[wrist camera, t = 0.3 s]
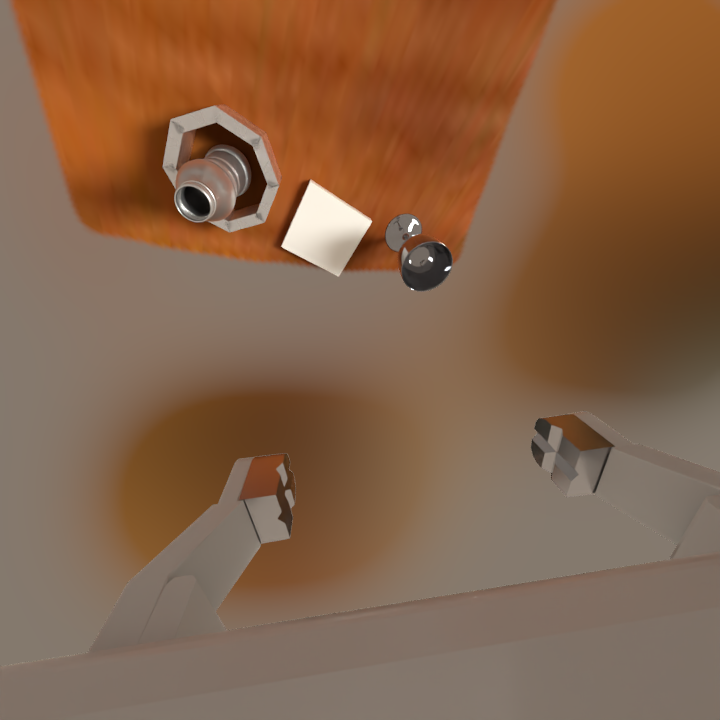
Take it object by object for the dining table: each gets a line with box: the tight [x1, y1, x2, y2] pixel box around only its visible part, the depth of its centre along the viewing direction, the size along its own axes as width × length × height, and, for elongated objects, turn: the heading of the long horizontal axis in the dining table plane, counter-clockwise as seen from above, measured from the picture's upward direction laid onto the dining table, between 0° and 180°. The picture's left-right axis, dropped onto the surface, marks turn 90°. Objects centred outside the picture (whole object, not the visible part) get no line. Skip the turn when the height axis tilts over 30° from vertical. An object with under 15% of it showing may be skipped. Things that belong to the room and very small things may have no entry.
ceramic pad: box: [281, 179, 372, 277], centre depth 52 cm, size 12×12×2 cm
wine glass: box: [385, 214, 453, 292], centre depth 49 cm, size 8×8×15 cm
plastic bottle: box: [174, 144, 251, 222], centre depth 37 cm, size 6×7×20 cm
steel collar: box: [162, 105, 282, 232], centre depth 42 cm, size 14×14×6 cm
